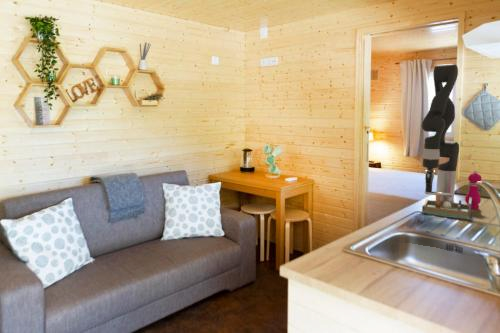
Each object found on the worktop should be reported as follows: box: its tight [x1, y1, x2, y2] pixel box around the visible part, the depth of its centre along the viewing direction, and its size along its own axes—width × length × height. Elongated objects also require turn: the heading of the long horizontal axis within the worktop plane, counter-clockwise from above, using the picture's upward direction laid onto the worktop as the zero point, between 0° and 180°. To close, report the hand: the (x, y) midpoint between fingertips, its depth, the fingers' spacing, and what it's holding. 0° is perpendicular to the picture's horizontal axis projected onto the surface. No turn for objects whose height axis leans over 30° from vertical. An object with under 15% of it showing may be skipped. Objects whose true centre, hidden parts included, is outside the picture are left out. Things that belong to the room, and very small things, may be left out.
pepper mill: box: [464, 170, 482, 211], centre depth 214 cm, size 7×7×20 cm
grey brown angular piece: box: [424, 179, 453, 208], centre depth 208 cm, size 6×13×14 cm, turn 61°
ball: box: [443, 201, 452, 209], centre depth 207 cm, size 4×4×4 cm
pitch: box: [421, 197, 472, 220], centre depth 207 cm, size 16×21×8 cm
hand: (428, 191), depth 210 cm, fingers closed on grey brown angular piece, 3 cm apart
